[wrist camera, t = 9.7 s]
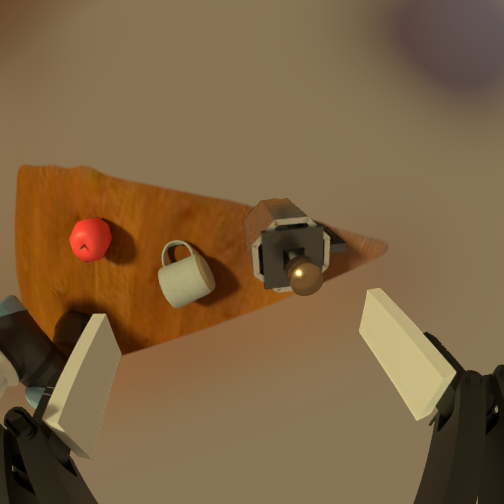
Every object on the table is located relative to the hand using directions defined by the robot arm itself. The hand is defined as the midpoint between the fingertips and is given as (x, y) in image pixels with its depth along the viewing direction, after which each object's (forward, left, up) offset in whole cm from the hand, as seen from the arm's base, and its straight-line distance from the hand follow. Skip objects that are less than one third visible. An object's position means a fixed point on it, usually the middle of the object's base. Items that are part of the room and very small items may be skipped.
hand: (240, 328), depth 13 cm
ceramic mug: (-9, -13, -36) cm, 39 cm away
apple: (-24, -4, -36) cm, 44 cm away
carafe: (+10, -8, -36) cm, 38 cm away
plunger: (+8, -8, -34) cm, 36 cm away
